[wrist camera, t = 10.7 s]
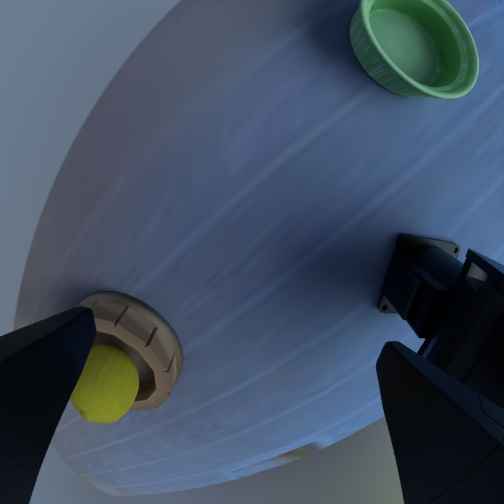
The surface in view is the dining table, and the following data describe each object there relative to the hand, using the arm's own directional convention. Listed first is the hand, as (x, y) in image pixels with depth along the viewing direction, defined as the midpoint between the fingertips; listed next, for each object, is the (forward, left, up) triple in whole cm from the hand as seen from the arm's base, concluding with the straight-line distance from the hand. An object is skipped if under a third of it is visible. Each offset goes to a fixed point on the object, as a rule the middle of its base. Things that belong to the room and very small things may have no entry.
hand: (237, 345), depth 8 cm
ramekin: (-9, -15, -12) cm, 21 cm away
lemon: (+10, +12, -11) cm, 19 cm away
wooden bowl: (+10, +12, -12) cm, 20 cm away
